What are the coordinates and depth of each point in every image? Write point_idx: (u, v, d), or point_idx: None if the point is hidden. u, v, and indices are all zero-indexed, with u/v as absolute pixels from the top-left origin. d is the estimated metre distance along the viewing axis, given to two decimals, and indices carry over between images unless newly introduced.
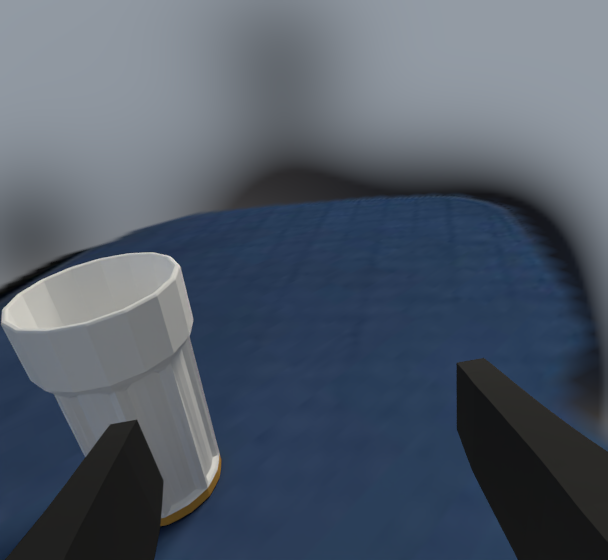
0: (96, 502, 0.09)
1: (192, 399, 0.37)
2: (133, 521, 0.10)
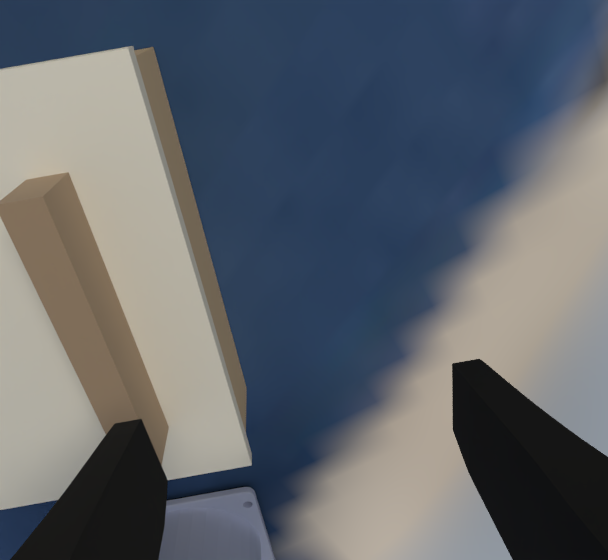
0: (101, 501, 0.09)
1: None
2: (138, 520, 0.10)
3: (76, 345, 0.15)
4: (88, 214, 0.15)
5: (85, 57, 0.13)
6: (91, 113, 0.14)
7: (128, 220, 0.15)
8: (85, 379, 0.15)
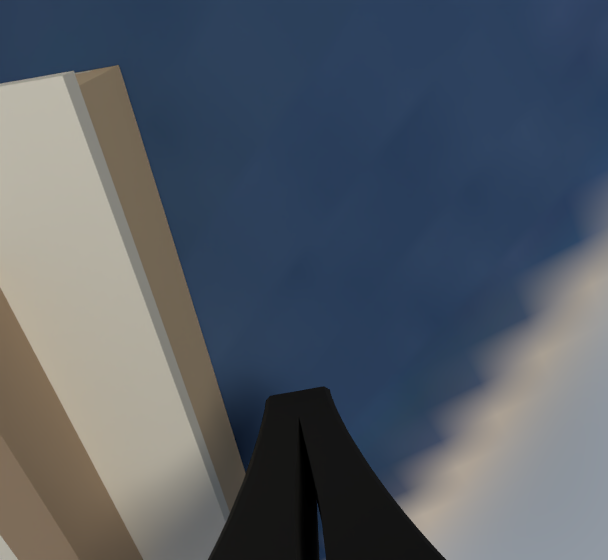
0: (296, 467, 0.09)
1: None
2: (308, 490, 0.10)
3: None
4: (18, 312, 0.10)
5: None
6: (11, 173, 0.09)
7: (77, 318, 0.10)
8: (17, 544, 0.11)
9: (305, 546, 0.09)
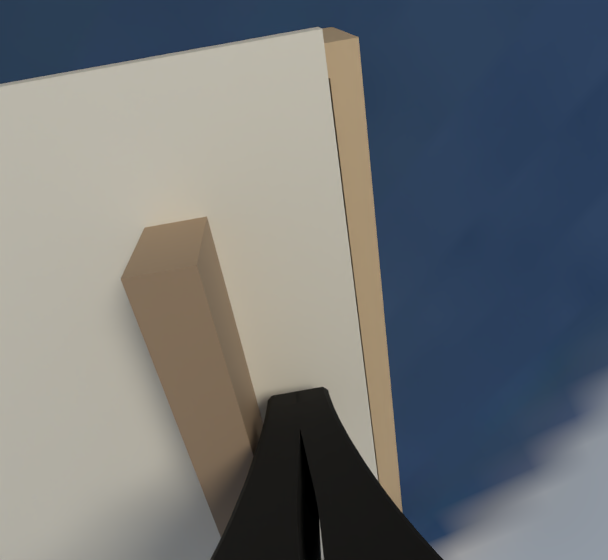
0: (299, 466, 0.09)
1: None
2: (310, 490, 0.10)
3: (212, 468, 0.10)
4: (227, 274, 0.10)
5: (254, 44, 0.08)
6: (252, 130, 0.09)
7: (282, 282, 0.10)
8: (219, 509, 0.11)
9: (307, 546, 0.09)
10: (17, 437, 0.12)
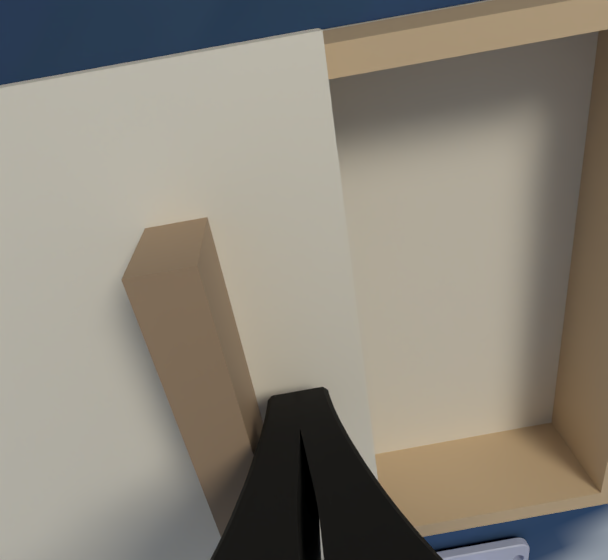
0: (299, 466, 0.09)
1: None
2: (310, 490, 0.10)
3: (212, 468, 0.10)
4: (227, 275, 0.10)
5: (255, 45, 0.08)
6: (252, 131, 0.09)
7: (282, 282, 0.10)
8: (219, 509, 0.11)
9: (307, 546, 0.09)
10: (17, 438, 0.12)
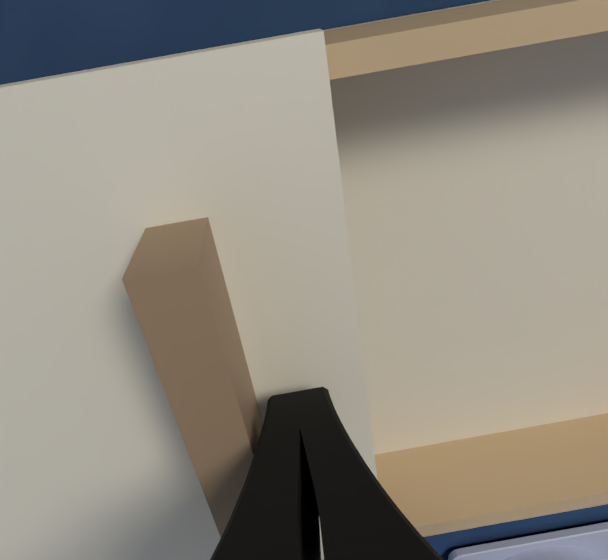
0: (298, 466, 0.09)
1: None
2: (310, 489, 0.10)
3: (212, 468, 0.10)
4: (228, 275, 0.10)
5: (256, 45, 0.08)
6: (253, 131, 0.09)
7: (283, 282, 0.10)
8: (218, 509, 0.11)
9: (307, 545, 0.09)
10: (17, 437, 0.12)
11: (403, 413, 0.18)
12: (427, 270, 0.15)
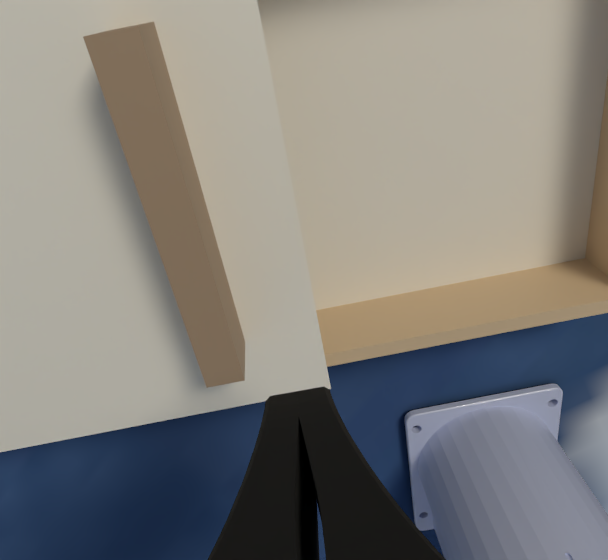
0: (296, 467, 0.09)
1: None
2: (308, 490, 0.10)
3: (162, 222, 0.13)
4: (173, 76, 0.13)
5: None
6: None
7: (217, 84, 0.13)
8: (171, 266, 0.14)
9: (305, 546, 0.09)
10: (13, 230, 0.15)
11: (351, 265, 0.21)
12: (361, 122, 0.18)
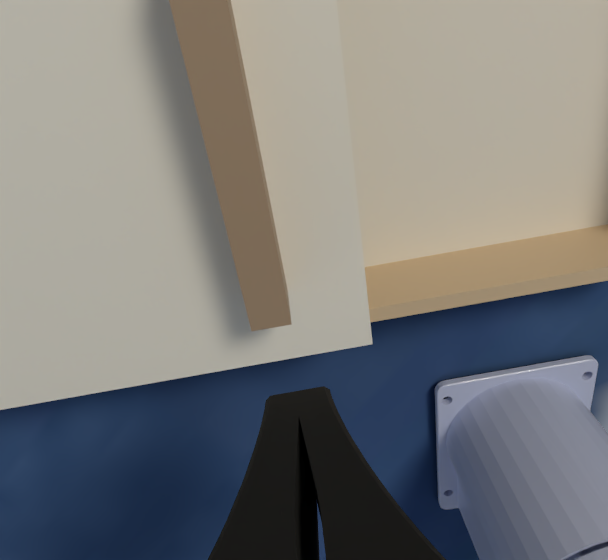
0: (296, 466, 0.09)
1: None
2: (308, 490, 0.10)
3: (219, 142, 0.12)
4: None
5: None
6: None
7: None
8: (224, 192, 0.13)
9: (305, 546, 0.09)
10: (53, 157, 0.14)
11: (391, 221, 0.20)
12: (410, 65, 0.17)
